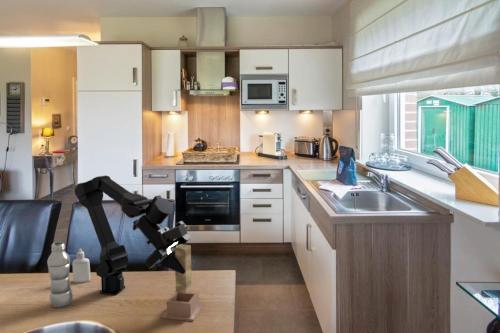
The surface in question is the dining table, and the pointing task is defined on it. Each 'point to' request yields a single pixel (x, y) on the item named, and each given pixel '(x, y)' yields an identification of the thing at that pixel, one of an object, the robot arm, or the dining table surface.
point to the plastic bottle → (59, 276)
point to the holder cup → (183, 306)
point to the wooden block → (185, 260)
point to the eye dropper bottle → (81, 268)
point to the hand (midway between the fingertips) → (187, 270)
